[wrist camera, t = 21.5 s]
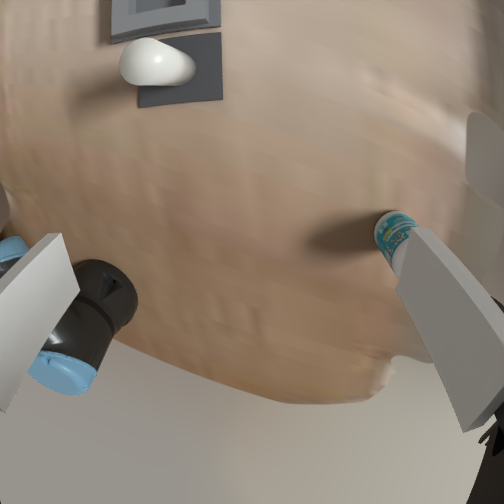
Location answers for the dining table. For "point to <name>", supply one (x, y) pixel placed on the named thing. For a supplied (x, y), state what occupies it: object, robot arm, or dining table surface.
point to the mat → (204, 80)
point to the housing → (161, 17)
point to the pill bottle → (394, 237)
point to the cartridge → (155, 64)
